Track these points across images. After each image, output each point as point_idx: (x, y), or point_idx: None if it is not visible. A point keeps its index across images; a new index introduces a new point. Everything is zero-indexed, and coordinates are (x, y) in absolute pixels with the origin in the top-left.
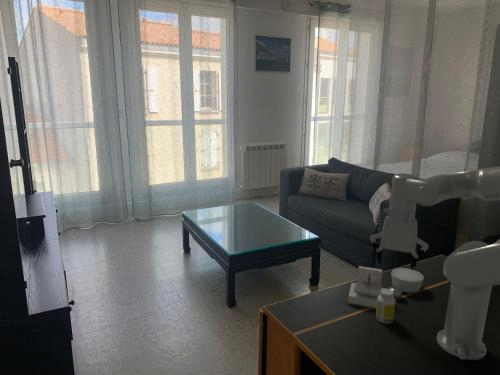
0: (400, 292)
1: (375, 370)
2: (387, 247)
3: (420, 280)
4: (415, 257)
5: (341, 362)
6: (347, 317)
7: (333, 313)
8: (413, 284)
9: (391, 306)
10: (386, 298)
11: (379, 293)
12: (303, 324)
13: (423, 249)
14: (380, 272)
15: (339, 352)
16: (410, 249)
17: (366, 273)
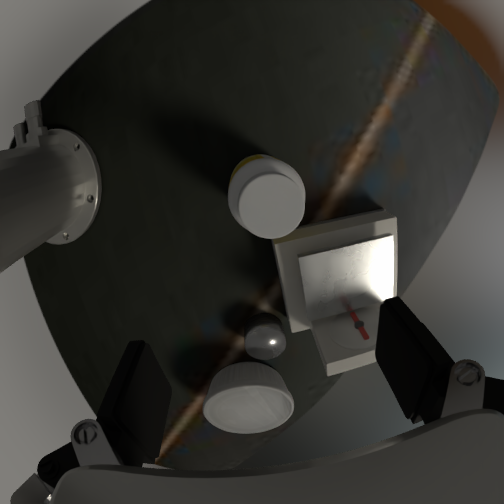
0: (246, 337)
1: None
2: (439, 442)
3: (206, 402)
4: (96, 427)
5: None
6: (364, 129)
7: (403, 132)
8: (221, 384)
9: (236, 171)
10: (264, 172)
11: (307, 265)
12: (436, 53)
13: (42, 488)
14: (331, 359)
15: None
16: (83, 499)
17: (376, 333)
